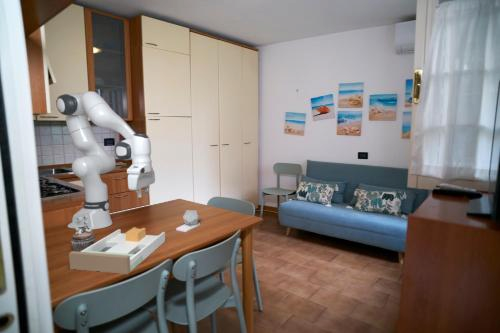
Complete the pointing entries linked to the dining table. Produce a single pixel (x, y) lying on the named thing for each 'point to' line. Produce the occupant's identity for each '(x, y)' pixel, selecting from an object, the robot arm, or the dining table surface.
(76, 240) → the cupcake
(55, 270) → the dining table surface
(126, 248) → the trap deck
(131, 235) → the block
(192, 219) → the die
